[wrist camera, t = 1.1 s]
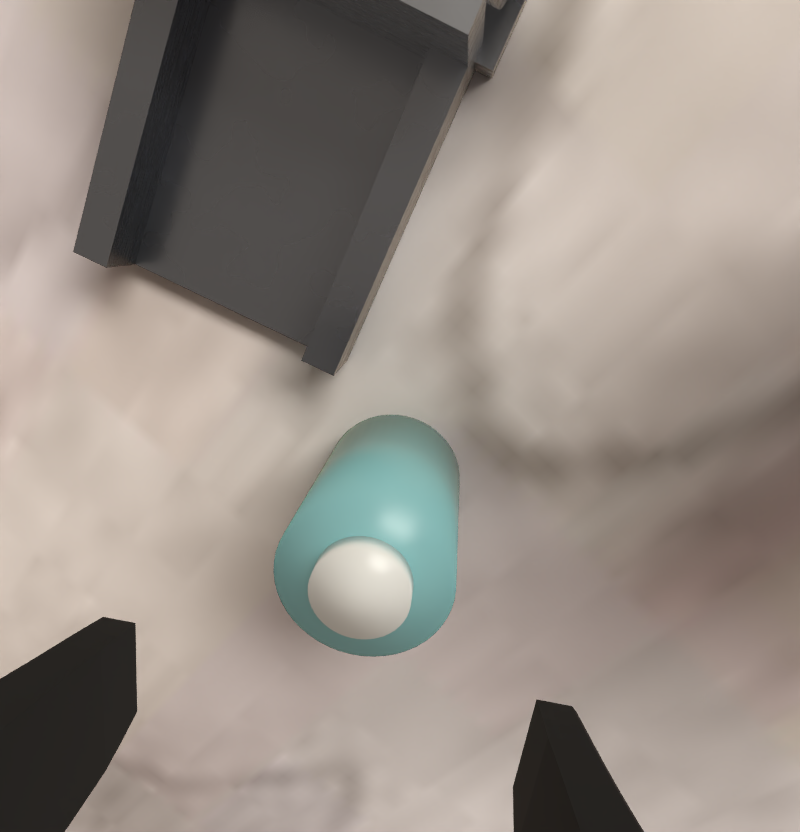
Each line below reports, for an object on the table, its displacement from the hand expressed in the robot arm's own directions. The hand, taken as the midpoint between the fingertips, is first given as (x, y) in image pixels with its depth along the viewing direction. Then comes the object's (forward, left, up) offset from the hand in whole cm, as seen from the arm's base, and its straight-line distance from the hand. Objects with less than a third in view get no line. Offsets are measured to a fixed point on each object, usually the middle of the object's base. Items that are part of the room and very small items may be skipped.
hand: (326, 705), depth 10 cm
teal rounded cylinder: (0, 0, -10) cm, 10 cm away
